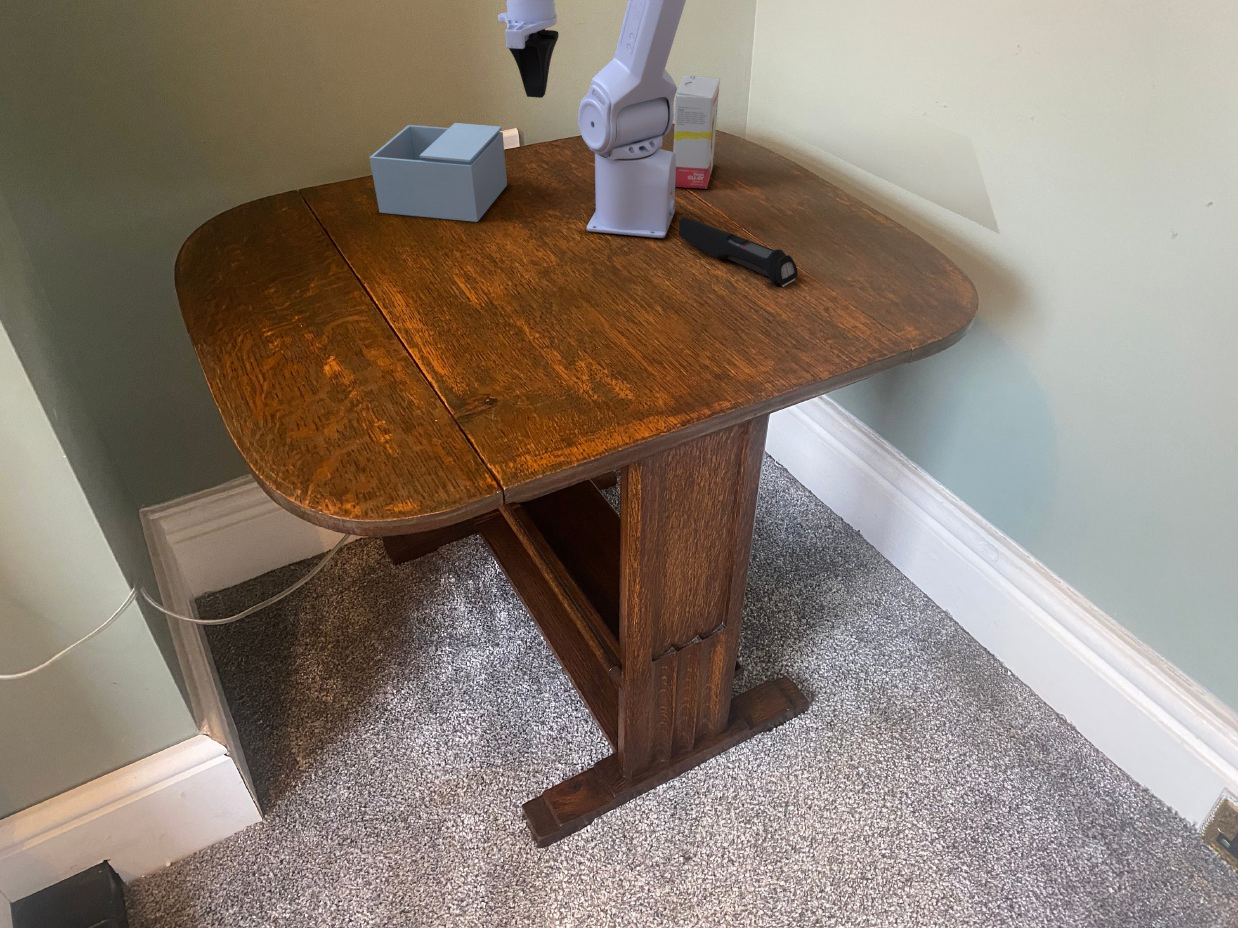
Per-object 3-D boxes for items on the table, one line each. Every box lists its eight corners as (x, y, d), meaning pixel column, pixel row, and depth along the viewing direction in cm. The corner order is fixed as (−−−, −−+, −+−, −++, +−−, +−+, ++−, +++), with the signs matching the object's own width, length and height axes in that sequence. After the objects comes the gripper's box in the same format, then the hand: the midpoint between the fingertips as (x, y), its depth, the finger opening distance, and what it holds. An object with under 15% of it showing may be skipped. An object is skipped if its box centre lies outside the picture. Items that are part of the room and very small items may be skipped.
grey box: (507, 185, 112) (502, 132, 108) (477, 222, 103) (471, 166, 99) (416, 177, 114) (408, 125, 110) (379, 212, 105) (369, 157, 101)
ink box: (707, 190, 111) (714, 96, 103) (670, 187, 112) (674, 93, 104) (714, 166, 117) (721, 76, 110) (679, 164, 118) (683, 74, 110)
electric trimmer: (692, 236, 101) (693, 210, 99) (799, 278, 92) (803, 251, 90) (671, 246, 99) (671, 220, 97) (778, 289, 90) (781, 262, 88)
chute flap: (501, 129, 107) (501, 126, 107) (470, 162, 99) (470, 159, 98) (455, 125, 108) (454, 122, 108) (419, 157, 100) (419, 155, 99)
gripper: (514, -39, 105) (522, 77, 114) (475, -15, 94) (487, 111, 103) (569, -36, 104) (573, 80, 113) (536, -12, 93) (543, 115, 102)
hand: (535, 96), depth 108 cm, fingers closed
